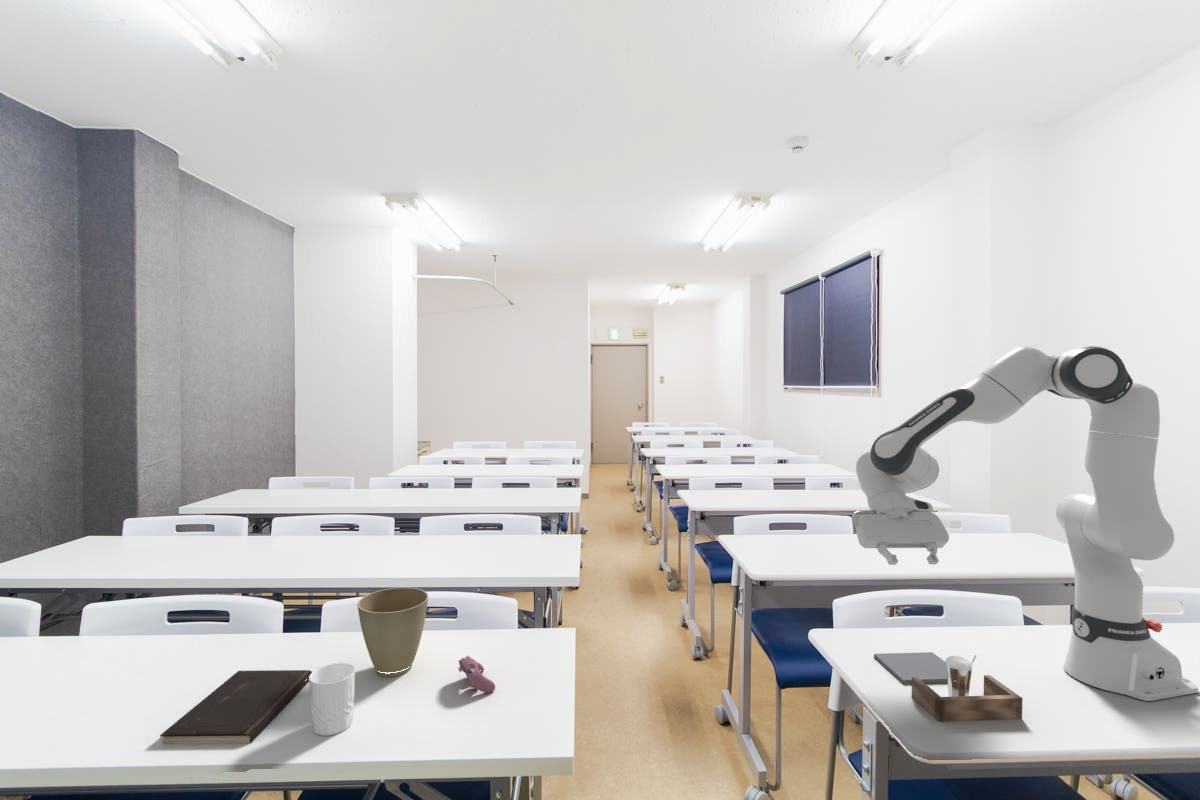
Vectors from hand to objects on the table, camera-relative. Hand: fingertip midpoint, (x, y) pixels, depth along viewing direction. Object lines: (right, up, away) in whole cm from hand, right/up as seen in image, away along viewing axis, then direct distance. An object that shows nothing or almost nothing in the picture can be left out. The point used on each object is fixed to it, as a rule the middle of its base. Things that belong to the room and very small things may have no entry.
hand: (914, 563), depth 132 cm
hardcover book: (-141, -25, -16) cm, 144 cm away
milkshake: (+1, -24, -15) cm, 28 cm away
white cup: (-121, -24, -22) cm, 125 cm away
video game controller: (-97, -24, -8) cm, 100 cm away
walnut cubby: (+1, -24, -17) cm, 29 cm away
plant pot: (-117, -24, -1) cm, 119 cm away
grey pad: (0, -23, -1) cm, 23 cm away
